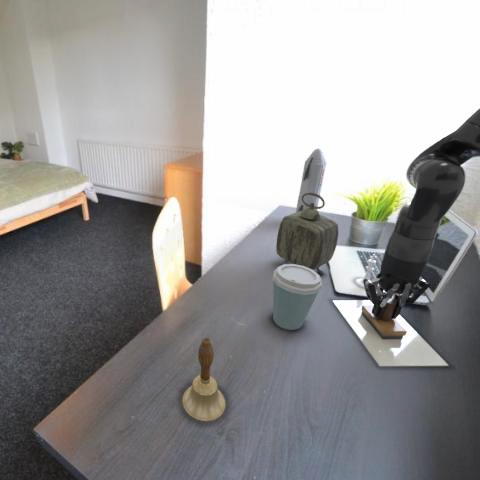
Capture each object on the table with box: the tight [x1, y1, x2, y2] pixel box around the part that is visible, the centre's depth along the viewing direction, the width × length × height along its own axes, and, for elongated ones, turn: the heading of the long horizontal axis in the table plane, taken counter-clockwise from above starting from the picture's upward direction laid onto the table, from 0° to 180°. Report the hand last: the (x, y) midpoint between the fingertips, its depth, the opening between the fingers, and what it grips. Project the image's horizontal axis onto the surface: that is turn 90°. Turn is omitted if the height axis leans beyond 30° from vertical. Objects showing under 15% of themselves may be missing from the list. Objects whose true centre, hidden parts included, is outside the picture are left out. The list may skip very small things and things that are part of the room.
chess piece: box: [355, 253, 378, 289], centre depth 93 cm, size 5×5×10 cm
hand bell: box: [182, 337, 226, 422], centre depth 59 cm, size 8×8×16 cm
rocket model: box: [295, 148, 327, 213], centre depth 126 cm, size 14×7×30 cm, turn 125°
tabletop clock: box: [275, 193, 339, 276], centre depth 97 cm, size 14×9×25 cm, turn 34°
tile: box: [331, 299, 450, 368], centre depth 78 cm, size 14×22×1 cm, turn 179°
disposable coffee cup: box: [272, 263, 323, 331], centre depth 78 cm, size 11×11×15 cm
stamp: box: [361, 297, 407, 339], centre depth 77 cm, size 9×5×8 cm, turn 0°
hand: (384, 316), depth 78 cm, fingers closed on stamp, 3 cm apart
